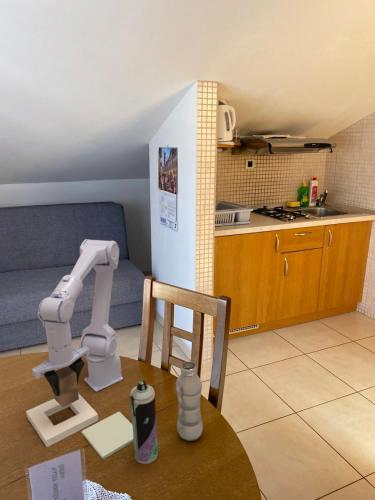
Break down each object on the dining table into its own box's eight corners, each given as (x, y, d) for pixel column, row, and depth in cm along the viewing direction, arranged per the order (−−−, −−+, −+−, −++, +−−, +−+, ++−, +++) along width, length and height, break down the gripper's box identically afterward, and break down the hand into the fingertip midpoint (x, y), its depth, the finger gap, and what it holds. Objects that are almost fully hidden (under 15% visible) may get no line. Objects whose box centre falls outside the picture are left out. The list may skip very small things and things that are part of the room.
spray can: (148, 467, 89) (143, 393, 83) (129, 457, 92) (124, 385, 86) (162, 451, 93) (159, 379, 88) (144, 442, 96) (139, 372, 90)
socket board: (75, 395, 114) (74, 389, 114) (98, 420, 104) (97, 414, 103) (27, 417, 106) (26, 411, 105) (46, 447, 95) (45, 440, 95)
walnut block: (70, 391, 105) (67, 365, 103) (79, 399, 102) (75, 372, 100) (54, 399, 102) (51, 372, 100) (63, 407, 99) (59, 380, 97)
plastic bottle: (184, 448, 94) (183, 377, 88) (172, 430, 100) (170, 362, 94) (207, 438, 97) (207, 369, 91) (194, 421, 103) (193, 355, 97)
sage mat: (119, 413, 106) (119, 411, 106) (142, 436, 98) (141, 433, 98) (81, 433, 100) (81, 431, 99) (102, 459, 91) (102, 456, 91)
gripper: (77, 327, 105) (82, 371, 109) (24, 348, 95) (31, 395, 99) (91, 336, 100) (96, 382, 104) (36, 359, 90) (44, 408, 94)
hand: (65, 389), depth 101 cm, fingers closed on walnut block, 4 cm apart
